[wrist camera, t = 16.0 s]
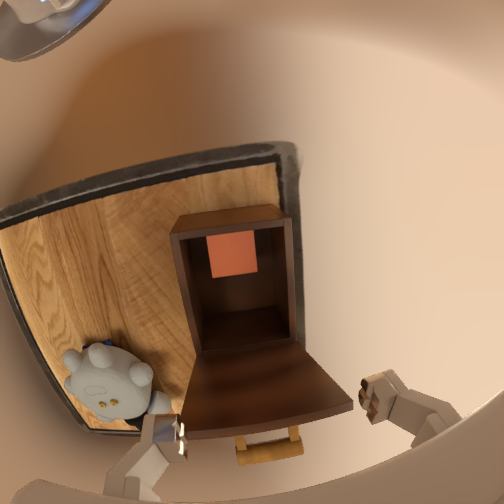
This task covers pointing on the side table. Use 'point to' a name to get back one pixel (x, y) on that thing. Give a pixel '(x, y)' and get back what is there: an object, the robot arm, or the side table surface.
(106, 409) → the figurine
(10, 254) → the side table surface
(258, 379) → the lid
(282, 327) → the chest
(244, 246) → the block
